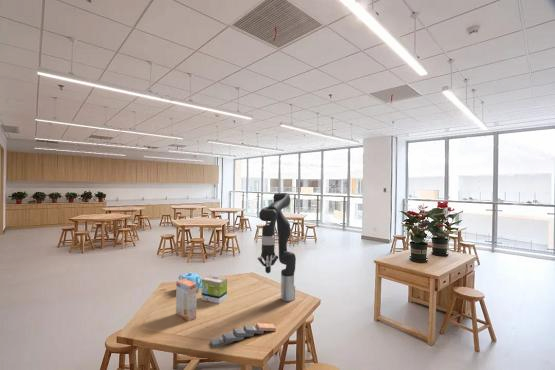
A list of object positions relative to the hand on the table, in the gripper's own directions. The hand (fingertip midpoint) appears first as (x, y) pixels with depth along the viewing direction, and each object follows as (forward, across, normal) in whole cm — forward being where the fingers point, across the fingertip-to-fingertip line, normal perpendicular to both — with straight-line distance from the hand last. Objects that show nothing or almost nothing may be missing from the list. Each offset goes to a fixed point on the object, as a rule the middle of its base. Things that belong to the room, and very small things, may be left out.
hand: (267, 272), depth 157 cm
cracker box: (+29, +42, -28) cm, 58 cm away
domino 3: (+28, +13, +8) cm, 32 cm away
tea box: (+29, +21, -45) cm, 58 cm away
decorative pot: (+29, +34, -69) cm, 82 cm away
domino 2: (+28, +19, +8) cm, 35 cm away
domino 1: (+28, +24, +8) cm, 38 cm away
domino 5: (+28, 0, +8) cm, 29 cm away
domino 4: (+28, +7, +8) cm, 30 cm away
